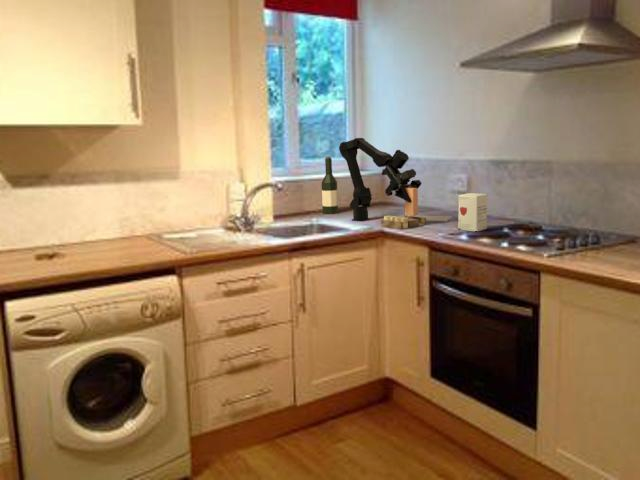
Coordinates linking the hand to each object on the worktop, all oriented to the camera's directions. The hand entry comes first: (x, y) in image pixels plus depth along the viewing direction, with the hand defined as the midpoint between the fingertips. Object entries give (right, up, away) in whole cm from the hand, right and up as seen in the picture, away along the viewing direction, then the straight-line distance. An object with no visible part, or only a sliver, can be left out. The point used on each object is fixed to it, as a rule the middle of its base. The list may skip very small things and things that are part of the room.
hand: (413, 201), depth 269 cm
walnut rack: (-4, -12, +1) cm, 12 cm away
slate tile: (+9, -8, +16) cm, 20 cm away
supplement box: (+23, -13, -11) cm, 29 cm away
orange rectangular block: (-1, -6, +2) cm, 6 cm away
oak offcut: (-6, -12, -6) cm, 14 cm away
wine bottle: (-36, -3, +58) cm, 68 cm away
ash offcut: (-10, -11, -1) cm, 15 cm away
